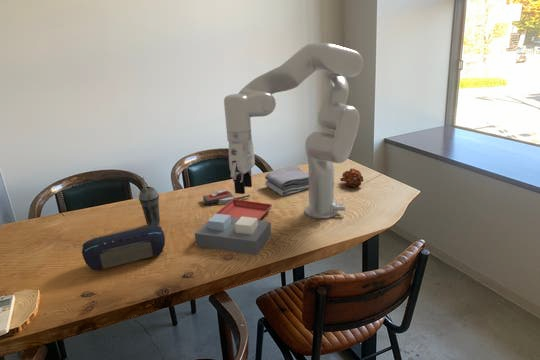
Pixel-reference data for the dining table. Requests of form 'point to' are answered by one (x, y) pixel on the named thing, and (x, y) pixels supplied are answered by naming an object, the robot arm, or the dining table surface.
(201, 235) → the console
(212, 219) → the blue key
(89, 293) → the dining table surface
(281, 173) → the towel
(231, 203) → the plant saucer
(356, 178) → the pine cone
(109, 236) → the portable speaker
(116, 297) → the dining table surface
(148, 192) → the beverage cup
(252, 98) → the robot arm
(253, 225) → the white key
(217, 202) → the walkie-talkie
